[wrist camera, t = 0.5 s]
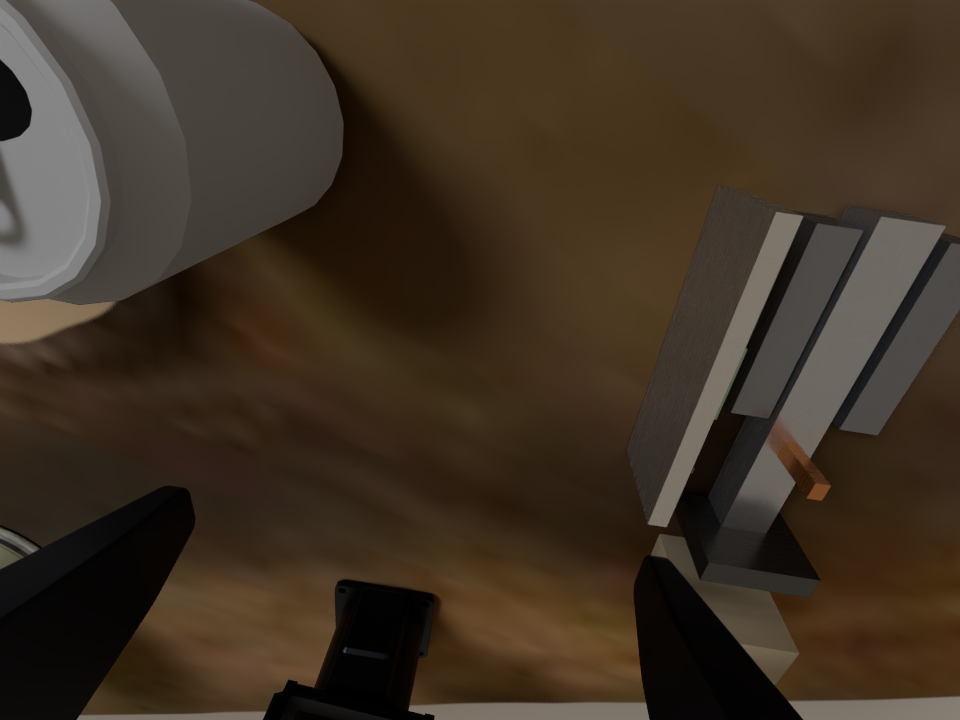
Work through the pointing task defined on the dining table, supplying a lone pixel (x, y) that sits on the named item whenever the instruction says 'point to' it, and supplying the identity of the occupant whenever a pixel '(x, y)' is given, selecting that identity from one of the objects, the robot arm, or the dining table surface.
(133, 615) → the robot arm
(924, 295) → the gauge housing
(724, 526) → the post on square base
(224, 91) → the can
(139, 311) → the dining table surface
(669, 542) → the block
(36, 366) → the dining table surface
